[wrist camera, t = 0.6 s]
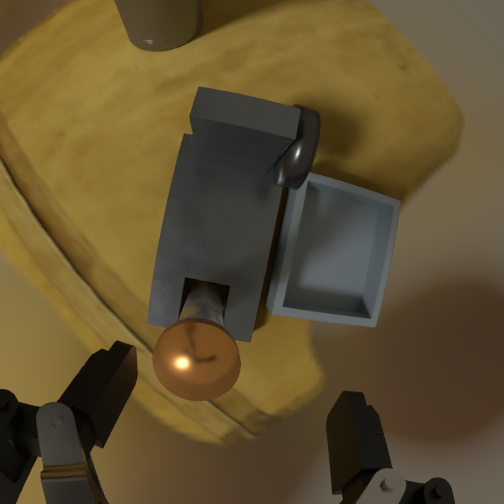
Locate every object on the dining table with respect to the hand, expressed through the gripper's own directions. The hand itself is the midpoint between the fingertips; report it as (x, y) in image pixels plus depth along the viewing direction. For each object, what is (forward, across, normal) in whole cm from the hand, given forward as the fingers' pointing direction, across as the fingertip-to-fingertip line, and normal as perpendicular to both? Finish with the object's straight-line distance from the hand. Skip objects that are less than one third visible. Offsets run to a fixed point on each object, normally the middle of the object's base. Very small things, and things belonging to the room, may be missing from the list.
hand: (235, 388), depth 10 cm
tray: (+21, -7, +1) cm, 22 cm away
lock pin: (+17, +4, +7) cm, 19 cm away
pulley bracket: (+19, +4, +1) cm, 19 cm away
